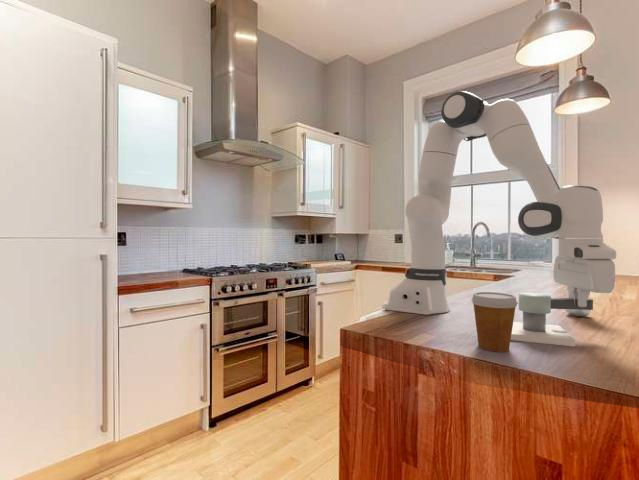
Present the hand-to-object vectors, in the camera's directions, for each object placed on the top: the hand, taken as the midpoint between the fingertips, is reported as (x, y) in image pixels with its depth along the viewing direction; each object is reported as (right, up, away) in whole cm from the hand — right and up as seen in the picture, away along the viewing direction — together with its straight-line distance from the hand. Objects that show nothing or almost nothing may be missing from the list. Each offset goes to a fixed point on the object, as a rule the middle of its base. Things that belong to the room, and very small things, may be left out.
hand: (580, 306), depth 87 cm
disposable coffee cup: (-25, -8, -7) cm, 27 cm away
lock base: (-10, -8, +3) cm, 13 cm away
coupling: (-4, -2, +3) cm, 5 cm away
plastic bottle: (+17, -8, +25) cm, 31 cm away
